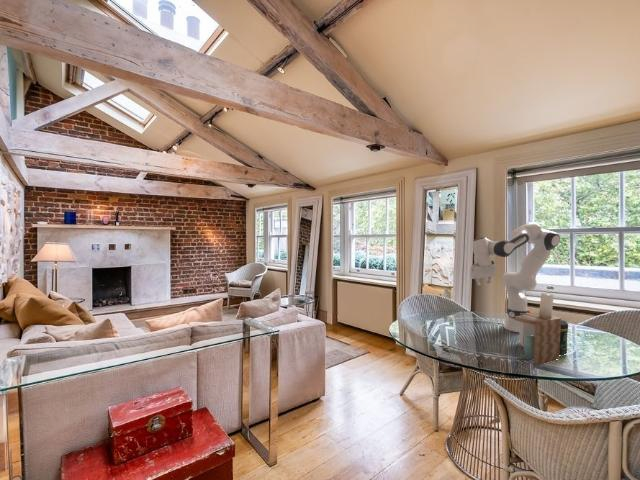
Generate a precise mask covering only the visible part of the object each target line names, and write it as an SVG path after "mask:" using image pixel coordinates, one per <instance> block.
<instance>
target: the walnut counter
mask: <svg viewBox="0 0 640 480" xmlns="http://www.w3.org/2000/svg"><path fill="white" fill-rule="evenodd" d="M514 320H516V321H520V322H523V323H527V324H531V325H535V345H534V360H533V365H534V364H535V365H539V366H541V365H540V364H542V365H545V364H544V363H546V364H548V363H547V362H549V363H552V362H555V361H554V360H556V359H559V360H560V356H559V352H560V329H561V320H562V318H561V317H557V316H554V315H552V317H551V318H544V317H541V316H539V312H531V313H529V314H526V315H520V316H515V319H514ZM551 361H552V362H551ZM556 361H557V360H556ZM535 365H534V366H535Z"/></svg>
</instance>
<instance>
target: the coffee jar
mask: <svg viewBox="0 0 640 480" xmlns="http://www.w3.org/2000/svg"><path fill="white" fill-rule="evenodd" d="M568 331H569V323H568V322H567V321H566V320H562V319H561V329H560V352H559V355H564V354H566V353H567V354H568V333H569V332H568ZM567 354H566V355H567ZM564 356H565V355H564Z"/></svg>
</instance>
